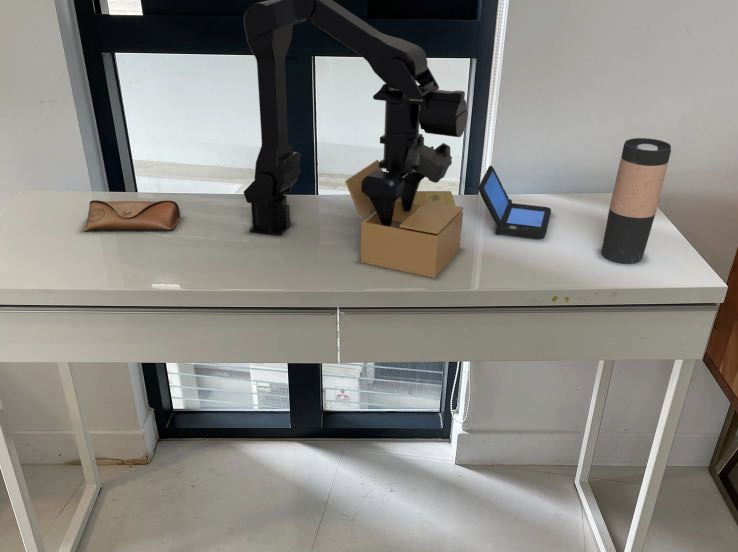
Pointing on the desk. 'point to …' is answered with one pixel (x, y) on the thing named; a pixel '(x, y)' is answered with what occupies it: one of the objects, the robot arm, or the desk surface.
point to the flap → (355, 186)
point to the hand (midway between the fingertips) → (397, 219)
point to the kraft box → (413, 238)
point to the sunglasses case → (132, 216)
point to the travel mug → (635, 199)
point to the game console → (512, 210)
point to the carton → (432, 197)
